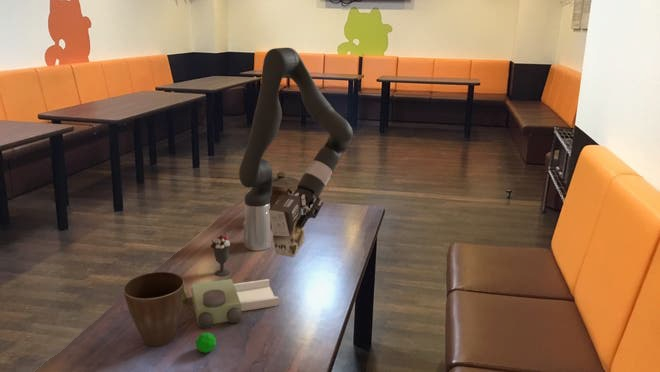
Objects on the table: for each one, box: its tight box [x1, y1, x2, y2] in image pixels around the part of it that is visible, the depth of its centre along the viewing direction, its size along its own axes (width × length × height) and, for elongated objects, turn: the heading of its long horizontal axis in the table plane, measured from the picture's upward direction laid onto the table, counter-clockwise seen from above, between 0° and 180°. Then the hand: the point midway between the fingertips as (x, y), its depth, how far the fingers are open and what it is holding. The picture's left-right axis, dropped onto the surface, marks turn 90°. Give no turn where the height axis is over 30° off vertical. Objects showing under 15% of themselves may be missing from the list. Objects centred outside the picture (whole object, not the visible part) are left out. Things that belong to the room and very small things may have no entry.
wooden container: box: [270, 171, 300, 228], centre depth 226 cm, size 15×15×22 cm
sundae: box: [210, 229, 232, 277], centre depth 180 cm, size 7×7×15 cm
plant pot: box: [122, 271, 185, 347], centre depth 141 cm, size 15×15×16 cm
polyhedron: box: [195, 332, 217, 354], centre depth 138 cm, size 5×5×5 cm
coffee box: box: [269, 194, 306, 258], centre depth 160 cm, size 9×6×16 cm
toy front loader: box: [191, 278, 280, 329], centre depth 160 cm, size 19×24×7 cm
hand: (288, 223), depth 161 cm, fingers closed on coffee box, 8 cm apart
